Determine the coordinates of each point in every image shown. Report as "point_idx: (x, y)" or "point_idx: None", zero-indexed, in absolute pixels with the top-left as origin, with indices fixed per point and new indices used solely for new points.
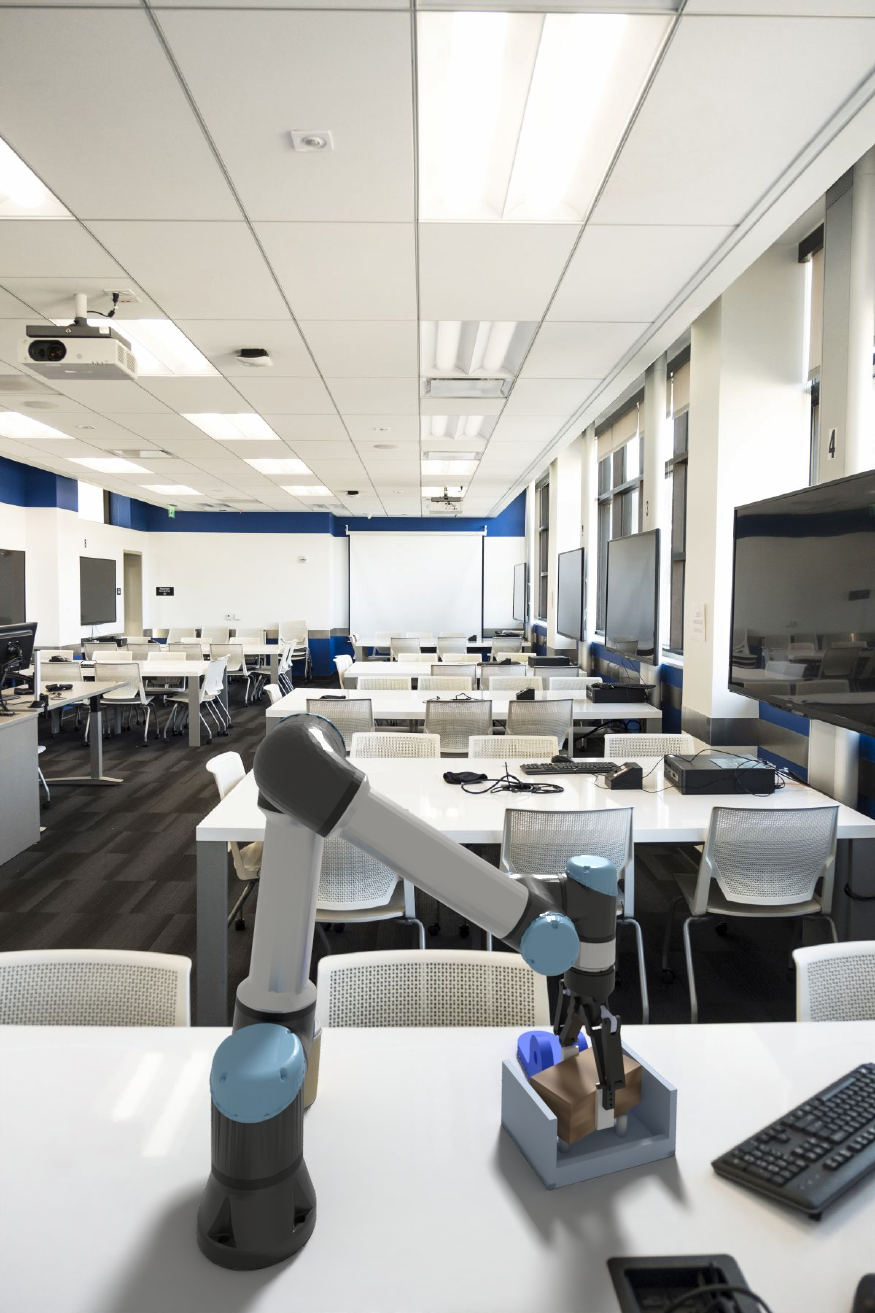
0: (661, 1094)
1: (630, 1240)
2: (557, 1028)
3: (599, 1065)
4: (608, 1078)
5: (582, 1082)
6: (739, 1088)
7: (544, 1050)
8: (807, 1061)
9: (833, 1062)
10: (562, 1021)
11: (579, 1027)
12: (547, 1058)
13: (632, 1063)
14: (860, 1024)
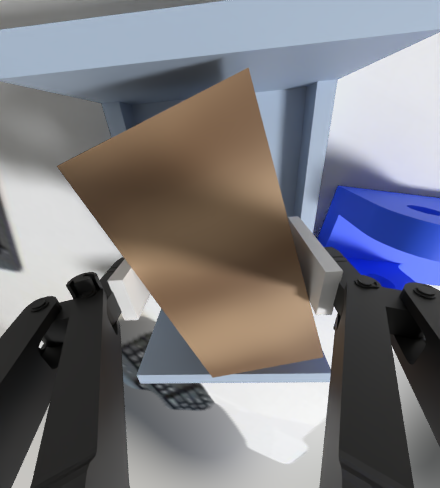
0: (166, 354)
1: (21, 177)
2: (423, 313)
3: (67, 340)
4: (21, 327)
5: (172, 252)
6: (251, 385)
7: (415, 232)
8: (262, 429)
9: (254, 437)
10: (434, 360)
11: (330, 394)
12: (389, 229)
13: (221, 369)
14: (286, 463)
